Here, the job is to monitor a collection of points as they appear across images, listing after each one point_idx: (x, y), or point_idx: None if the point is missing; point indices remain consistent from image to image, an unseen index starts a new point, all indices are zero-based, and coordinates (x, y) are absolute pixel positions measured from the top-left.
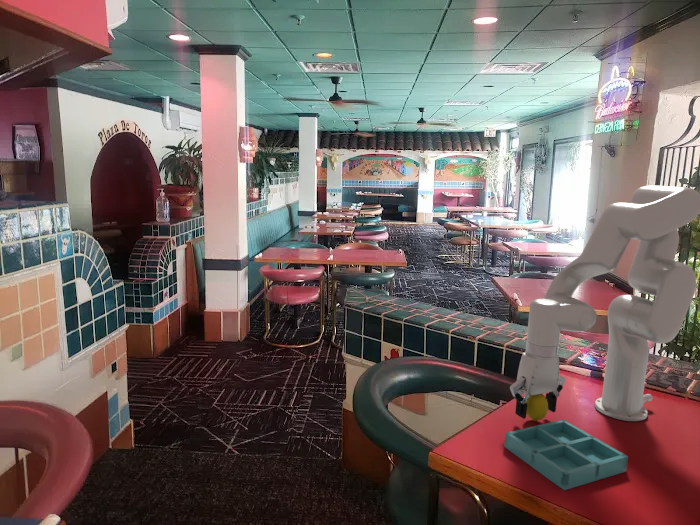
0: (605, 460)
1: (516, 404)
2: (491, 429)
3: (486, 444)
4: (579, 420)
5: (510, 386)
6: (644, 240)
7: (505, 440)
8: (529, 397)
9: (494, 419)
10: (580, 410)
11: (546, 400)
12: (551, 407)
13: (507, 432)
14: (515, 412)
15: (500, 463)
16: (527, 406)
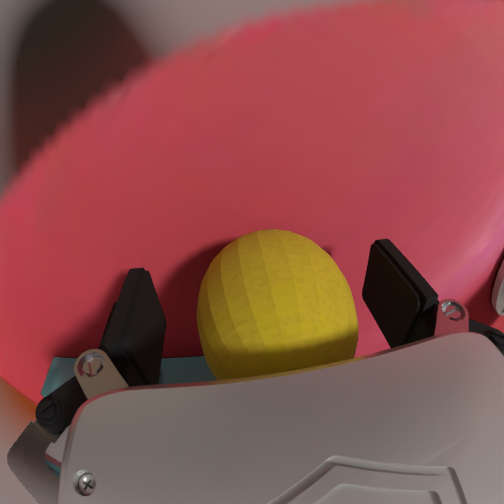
0: None
1: (103, 337)
2: (27, 269)
3: (12, 333)
4: (429, 283)
5: (10, 464)
6: None
7: (49, 375)
8: (218, 367)
9: (55, 191)
10: (489, 223)
11: None
12: (372, 299)
13: (46, 394)
14: (130, 270)
15: (42, 387)
16: (197, 324)
